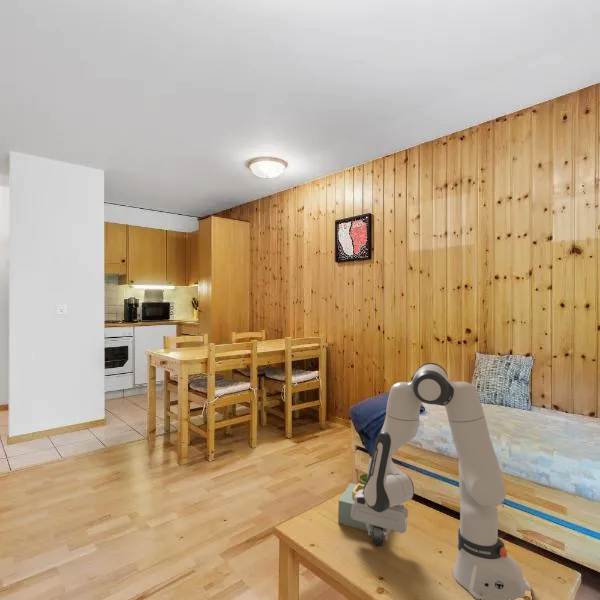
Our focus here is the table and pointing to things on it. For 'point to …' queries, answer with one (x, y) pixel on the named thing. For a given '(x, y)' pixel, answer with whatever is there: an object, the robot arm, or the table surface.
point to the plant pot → (363, 478)
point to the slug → (378, 535)
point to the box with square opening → (350, 507)
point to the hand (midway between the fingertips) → (378, 536)
